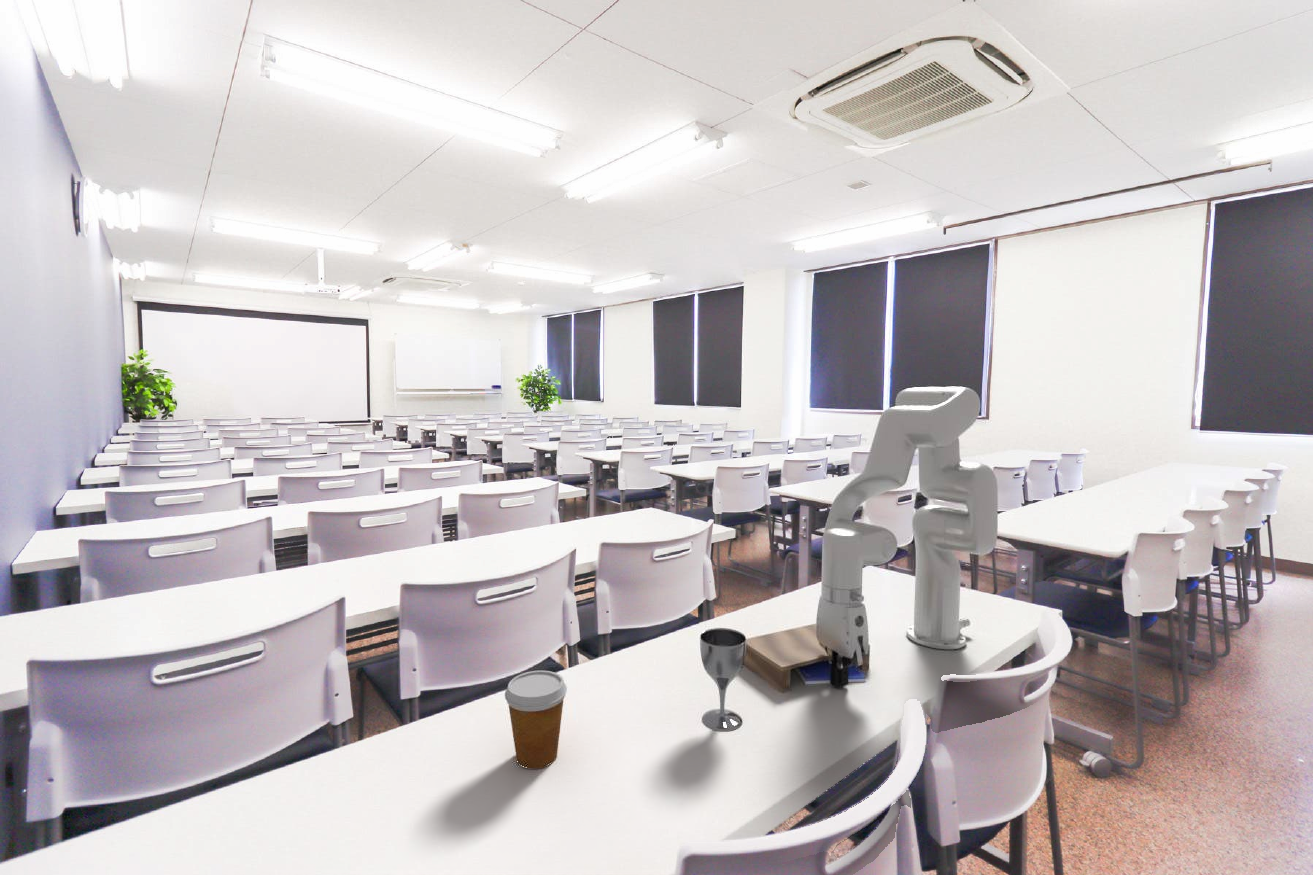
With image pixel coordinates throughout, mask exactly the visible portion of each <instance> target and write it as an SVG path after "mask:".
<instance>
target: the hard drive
mask: <svg viewBox="0 0 1313 875" xmlns="http://www.w3.org/2000/svg"><path fill="white" fill-rule="evenodd" d="M830 668H831V664H830V663H829V662H828V660H824V661H820V662H816V663H813V664H809V665H805V666H801V667H797V668H794V670H795V672H796V673H797V674H798V675H799V677H800V678H801V680H802V681H803V683H804V684H805V685H811V684H812V685H814V684H815V685H817V684H830ZM866 679H867V678H866V676H865V675H864V673H863V672H862V670H861V669H859V668H857V667H856V666H855V665H851V666H850V667H849V676H848V683H858V682H861V683H862V682H866Z"/></svg>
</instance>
